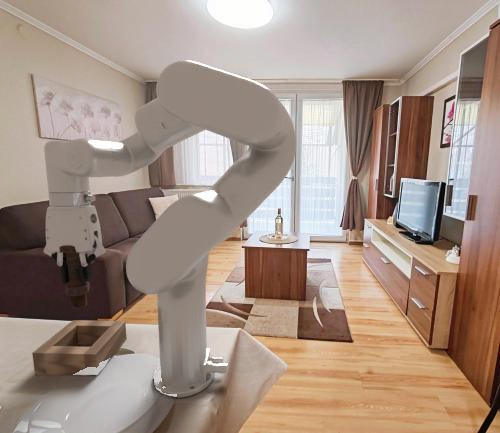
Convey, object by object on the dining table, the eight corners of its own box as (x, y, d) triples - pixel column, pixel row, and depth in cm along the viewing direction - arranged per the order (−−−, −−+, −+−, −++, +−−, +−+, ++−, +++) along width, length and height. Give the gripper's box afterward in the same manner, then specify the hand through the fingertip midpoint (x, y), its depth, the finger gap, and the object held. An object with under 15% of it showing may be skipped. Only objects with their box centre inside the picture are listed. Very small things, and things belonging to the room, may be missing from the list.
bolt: (88, 299, 70) (83, 238, 67) (97, 305, 67) (93, 242, 64) (60, 308, 65) (54, 243, 63) (69, 315, 62) (63, 247, 60)
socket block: (126, 339, 74) (125, 321, 73) (97, 376, 61) (95, 354, 60) (75, 338, 75) (73, 320, 74) (34, 374, 61) (32, 352, 60)
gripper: (116, 199, 66) (121, 276, 68) (45, 198, 66) (53, 274, 69) (98, 202, 58) (104, 289, 61) (18, 201, 59) (28, 287, 62)
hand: (77, 280), depth 65 cm, fingers closed on bolt, 3 cm apart
